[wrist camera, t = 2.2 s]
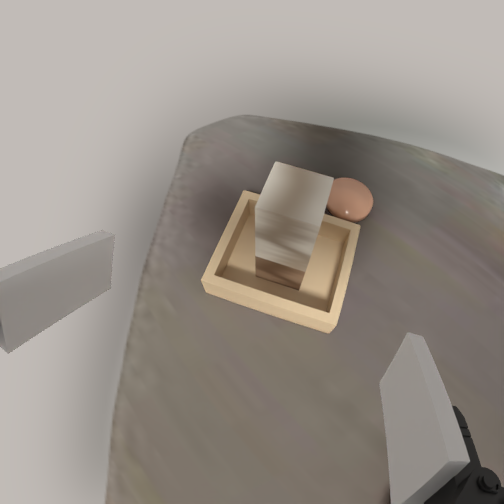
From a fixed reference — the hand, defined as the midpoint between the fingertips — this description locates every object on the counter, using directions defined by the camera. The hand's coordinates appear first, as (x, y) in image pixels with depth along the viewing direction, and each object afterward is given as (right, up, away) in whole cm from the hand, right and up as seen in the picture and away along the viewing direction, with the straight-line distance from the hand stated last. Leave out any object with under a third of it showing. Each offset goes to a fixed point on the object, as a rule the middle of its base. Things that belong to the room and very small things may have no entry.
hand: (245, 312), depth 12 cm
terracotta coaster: (+13, +9, +27) cm, 32 cm away
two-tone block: (+4, +1, +23) cm, 23 cm away
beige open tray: (+4, +1, +23) cm, 24 cm away
